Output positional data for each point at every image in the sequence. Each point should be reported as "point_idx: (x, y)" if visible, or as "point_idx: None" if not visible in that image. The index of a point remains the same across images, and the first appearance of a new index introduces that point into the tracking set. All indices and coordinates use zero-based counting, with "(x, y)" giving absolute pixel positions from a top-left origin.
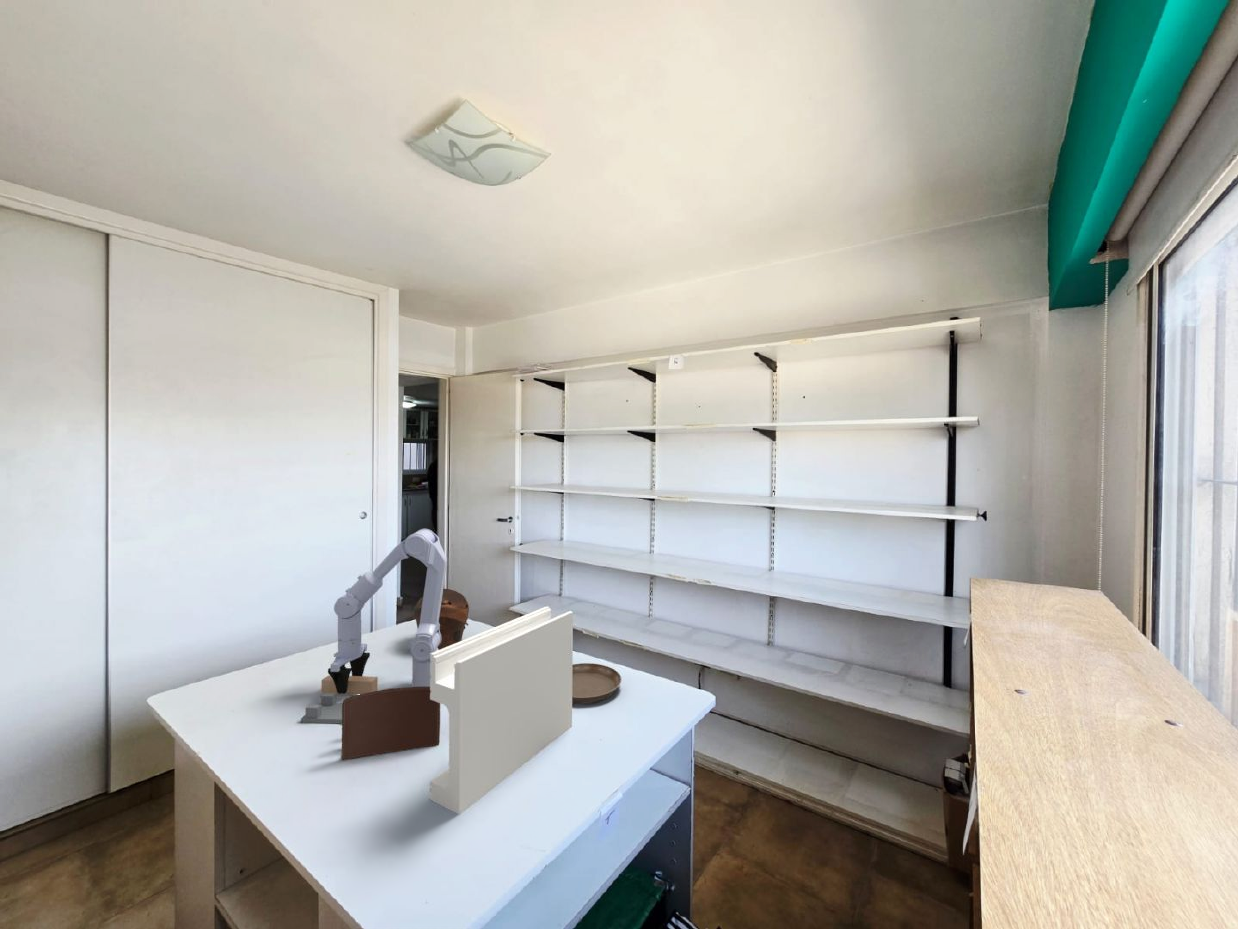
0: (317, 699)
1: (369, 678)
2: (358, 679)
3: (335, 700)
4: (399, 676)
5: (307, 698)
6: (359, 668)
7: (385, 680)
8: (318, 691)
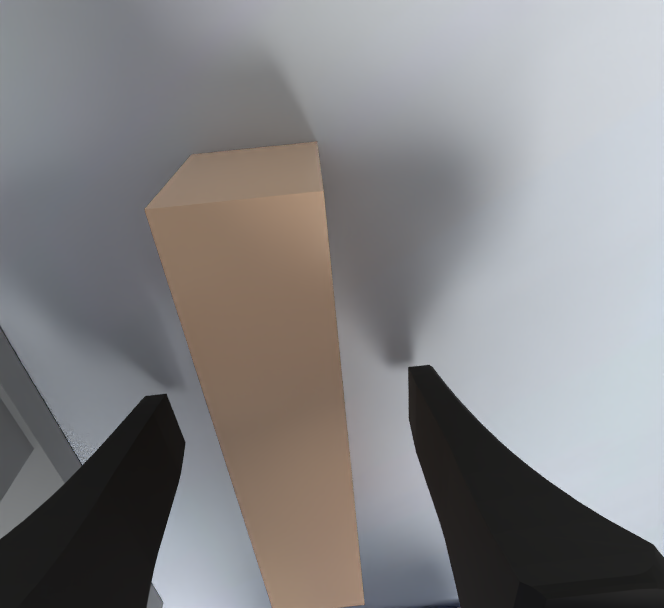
0: (77, 202)
1: (323, 583)
2: (285, 538)
3: (18, 468)
4: None
5: (40, 65)
6: (449, 519)
7: None
8: (232, 68)
